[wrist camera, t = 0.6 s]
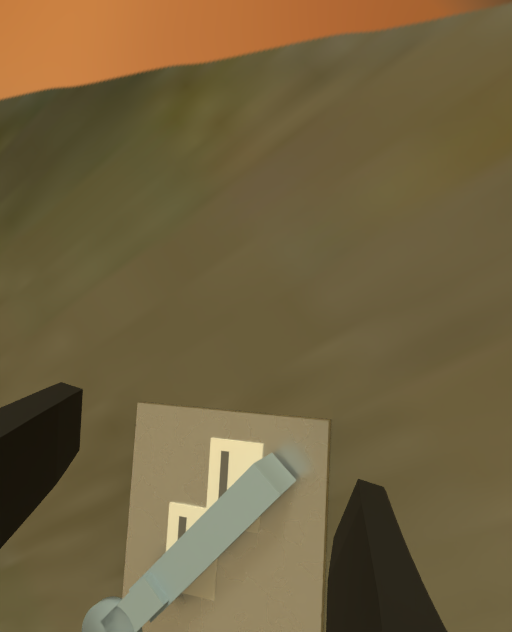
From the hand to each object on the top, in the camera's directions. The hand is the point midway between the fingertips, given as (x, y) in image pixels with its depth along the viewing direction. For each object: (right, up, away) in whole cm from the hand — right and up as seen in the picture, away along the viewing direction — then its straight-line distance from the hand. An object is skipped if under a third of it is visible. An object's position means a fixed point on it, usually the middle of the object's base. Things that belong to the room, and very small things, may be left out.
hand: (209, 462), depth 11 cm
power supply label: (0, -8, +21) cm, 23 cm away
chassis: (-1, -12, +22) cm, 25 cm away
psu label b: (-3, -13, +21) cm, 25 cm away
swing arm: (-2, -12, +21) cm, 24 cm away
